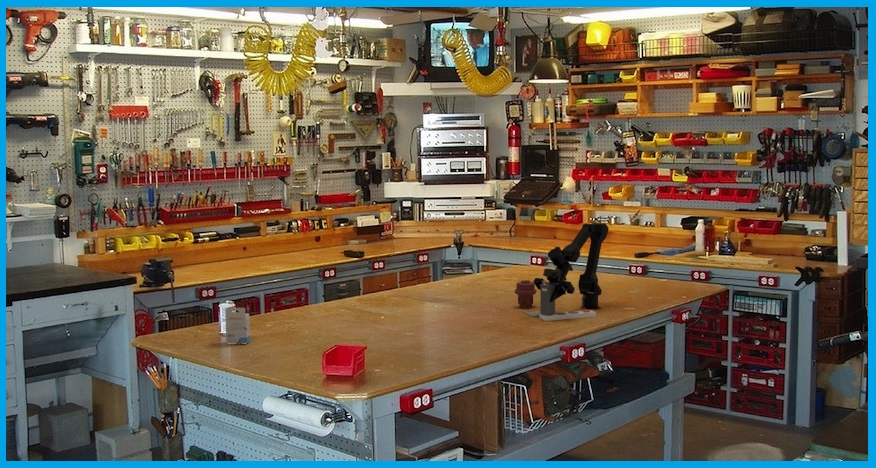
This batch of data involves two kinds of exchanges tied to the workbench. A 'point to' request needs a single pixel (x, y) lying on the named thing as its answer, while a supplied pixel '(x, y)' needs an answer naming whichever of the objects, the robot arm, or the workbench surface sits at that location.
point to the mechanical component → (525, 293)
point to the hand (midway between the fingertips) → (545, 301)
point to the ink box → (237, 326)
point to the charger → (547, 299)
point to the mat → (533, 314)
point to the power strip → (569, 315)
